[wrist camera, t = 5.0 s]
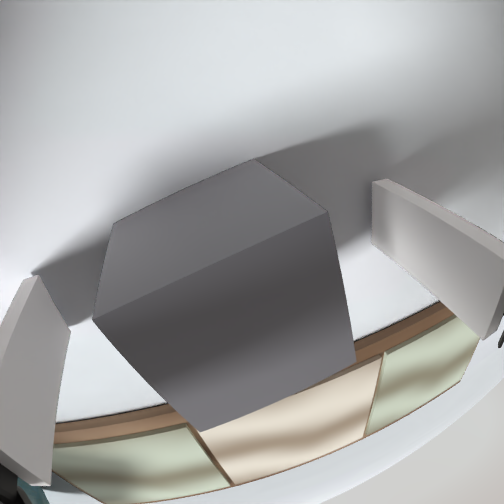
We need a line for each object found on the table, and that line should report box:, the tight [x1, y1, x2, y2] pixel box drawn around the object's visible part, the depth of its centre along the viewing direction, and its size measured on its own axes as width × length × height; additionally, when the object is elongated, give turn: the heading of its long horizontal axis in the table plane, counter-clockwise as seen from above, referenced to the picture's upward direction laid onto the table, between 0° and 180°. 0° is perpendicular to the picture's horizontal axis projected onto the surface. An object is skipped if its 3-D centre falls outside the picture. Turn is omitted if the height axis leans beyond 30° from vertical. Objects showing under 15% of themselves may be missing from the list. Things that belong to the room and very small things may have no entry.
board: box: [52, 301, 480, 504], centre depth 18 cm, size 13×34×1 cm, turn 99°
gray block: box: [92, 159, 357, 432], centre depth 9 cm, size 5×5×5 cm
